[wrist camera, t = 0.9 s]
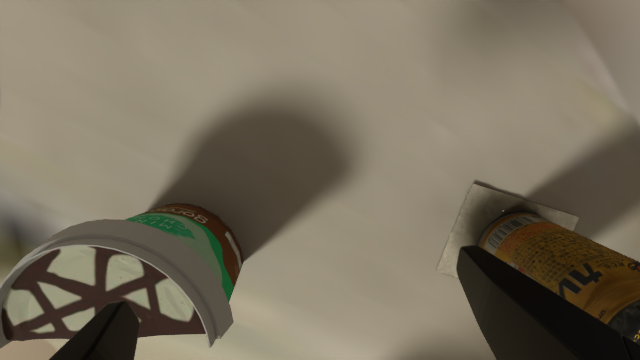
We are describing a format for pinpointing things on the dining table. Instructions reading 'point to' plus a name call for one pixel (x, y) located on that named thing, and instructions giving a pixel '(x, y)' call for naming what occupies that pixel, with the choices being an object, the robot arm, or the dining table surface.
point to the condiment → (549, 255)
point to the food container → (127, 276)
